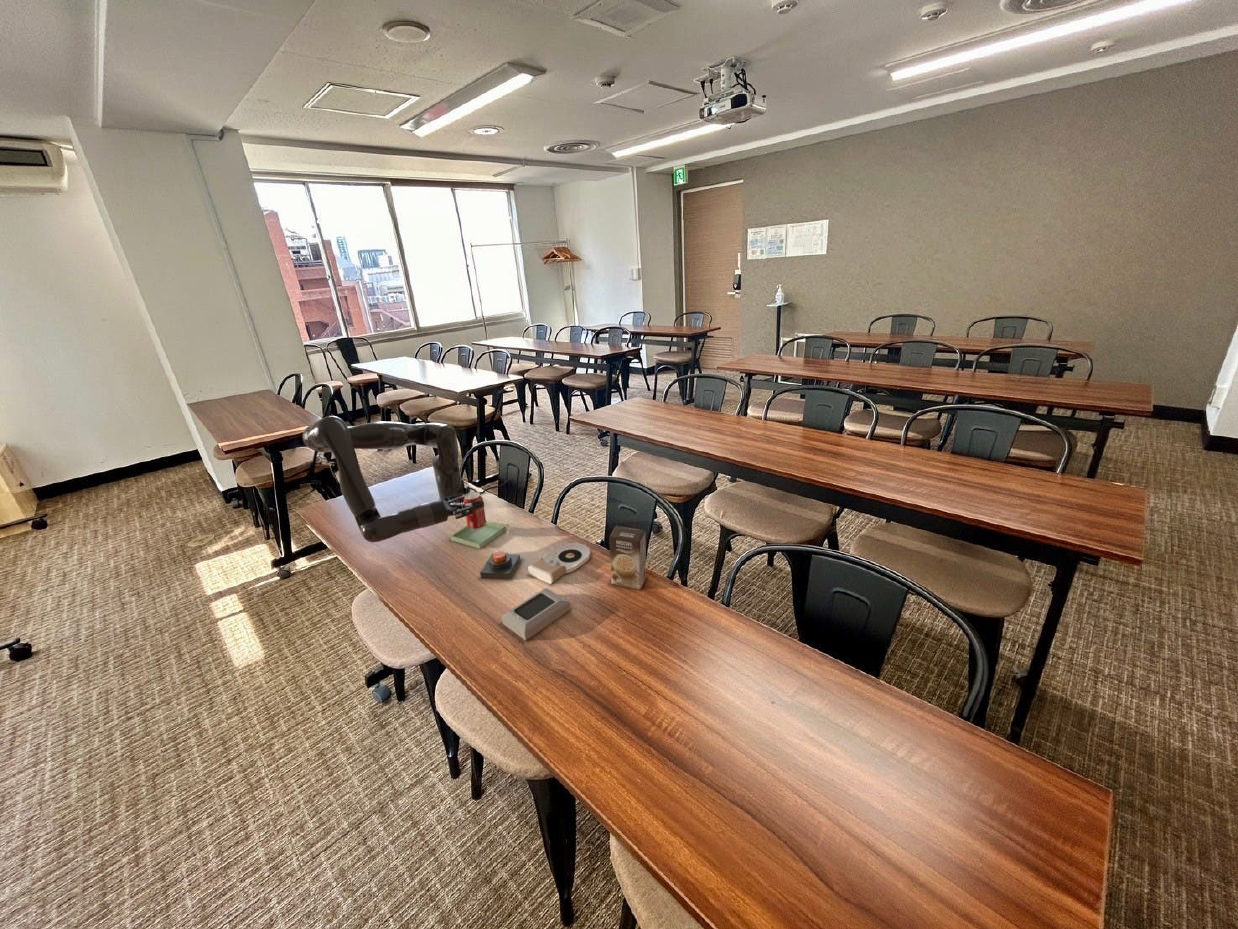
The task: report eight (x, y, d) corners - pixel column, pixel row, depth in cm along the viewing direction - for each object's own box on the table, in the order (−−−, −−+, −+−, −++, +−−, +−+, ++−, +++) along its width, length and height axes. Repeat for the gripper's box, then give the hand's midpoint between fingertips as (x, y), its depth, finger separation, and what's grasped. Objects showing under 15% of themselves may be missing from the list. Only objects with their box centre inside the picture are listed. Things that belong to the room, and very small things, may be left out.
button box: (493, 559, 152) (491, 548, 150) (520, 560, 151) (519, 549, 149) (481, 578, 143) (479, 567, 141) (510, 579, 142) (508, 568, 140)
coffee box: (610, 584, 138) (607, 536, 131) (617, 571, 143) (615, 524, 137) (641, 589, 135) (639, 540, 129) (647, 576, 140) (646, 529, 134)
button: (496, 556, 147) (495, 551, 147) (507, 556, 147) (506, 551, 146) (492, 562, 144) (491, 557, 143) (503, 563, 144) (502, 558, 143)
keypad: (569, 598, 127) (523, 629, 117) (570, 609, 128) (525, 640, 118) (545, 584, 133) (500, 612, 123) (547, 595, 134) (502, 623, 124)
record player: (525, 564, 143) (569, 535, 158) (526, 573, 144) (569, 543, 159) (553, 577, 137) (597, 545, 152) (554, 586, 138) (597, 554, 153)
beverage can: (470, 522, 168) (464, 492, 163) (488, 521, 168) (483, 490, 164) (466, 532, 162) (460, 500, 158) (485, 530, 163) (480, 499, 158)
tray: (477, 522, 175) (477, 518, 174) (506, 530, 169) (505, 526, 168) (450, 540, 164) (450, 536, 163) (480, 548, 158) (479, 544, 158)
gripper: (433, 512, 147) (485, 496, 156) (421, 495, 158) (471, 482, 167) (437, 533, 150) (489, 517, 159) (426, 515, 161) (474, 501, 170)
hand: (479, 499), depth 163 cm, fingers closed on beverage can, 6 cm apart
